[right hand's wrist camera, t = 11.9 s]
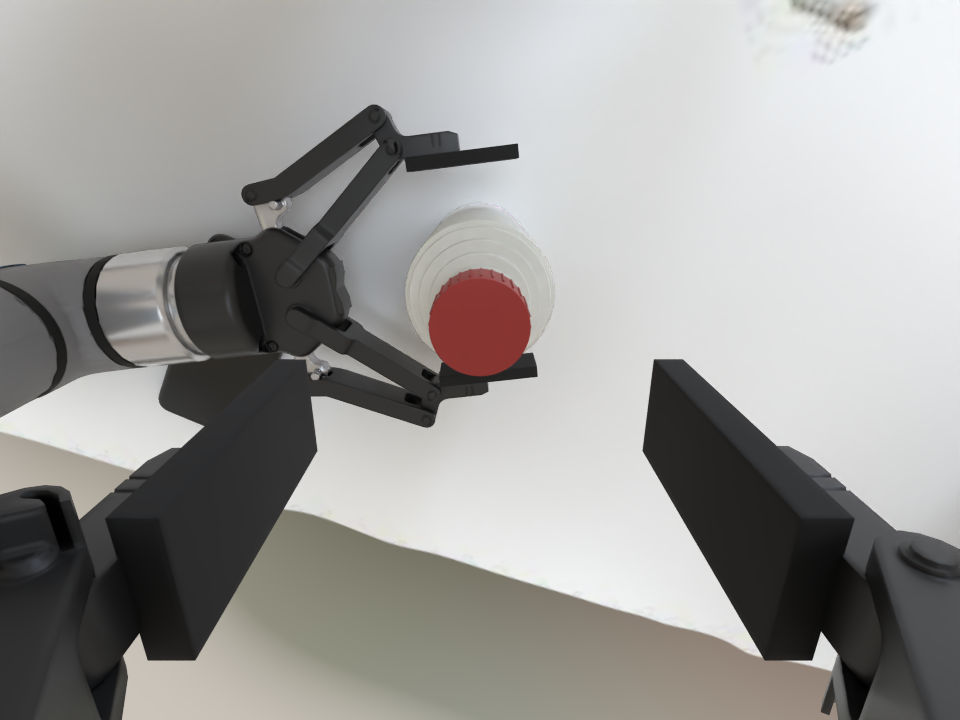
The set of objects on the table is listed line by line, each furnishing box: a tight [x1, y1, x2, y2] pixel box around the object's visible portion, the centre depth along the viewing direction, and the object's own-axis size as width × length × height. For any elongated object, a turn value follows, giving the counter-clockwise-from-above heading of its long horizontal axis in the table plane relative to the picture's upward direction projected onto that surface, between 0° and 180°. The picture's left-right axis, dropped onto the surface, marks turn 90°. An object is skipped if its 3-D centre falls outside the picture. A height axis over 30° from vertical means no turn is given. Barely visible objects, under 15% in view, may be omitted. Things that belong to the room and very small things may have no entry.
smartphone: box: [159, 234, 282, 426], centre depth 41 cm, size 8×1×16 cm
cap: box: [428, 268, 531, 376], centre depth 22 cm, size 4×4×2 cm
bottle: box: [405, 203, 555, 352], centre depth 30 cm, size 8×8×19 cm
